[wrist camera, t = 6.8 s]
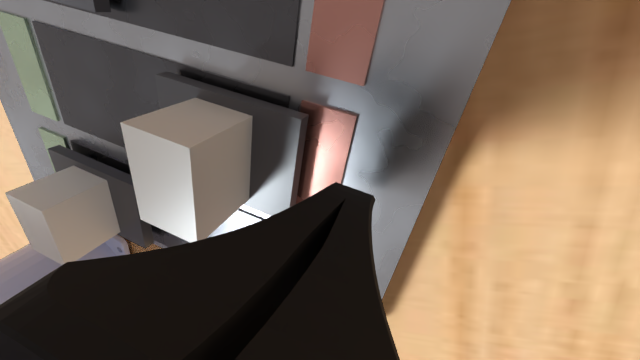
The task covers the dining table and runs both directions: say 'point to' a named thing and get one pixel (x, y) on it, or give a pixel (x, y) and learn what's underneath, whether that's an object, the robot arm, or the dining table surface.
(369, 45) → the panel
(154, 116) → the breaker mid
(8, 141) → the dining table surface
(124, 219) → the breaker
